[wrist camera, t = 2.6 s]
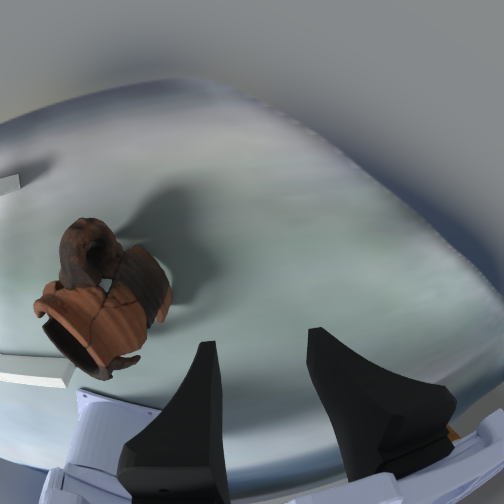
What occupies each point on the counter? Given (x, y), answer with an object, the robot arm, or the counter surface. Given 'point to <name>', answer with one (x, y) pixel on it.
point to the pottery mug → (102, 299)
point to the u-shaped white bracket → (28, 367)
